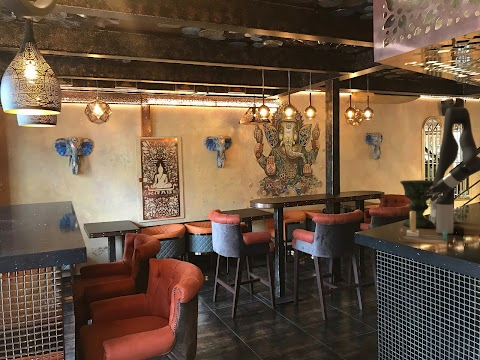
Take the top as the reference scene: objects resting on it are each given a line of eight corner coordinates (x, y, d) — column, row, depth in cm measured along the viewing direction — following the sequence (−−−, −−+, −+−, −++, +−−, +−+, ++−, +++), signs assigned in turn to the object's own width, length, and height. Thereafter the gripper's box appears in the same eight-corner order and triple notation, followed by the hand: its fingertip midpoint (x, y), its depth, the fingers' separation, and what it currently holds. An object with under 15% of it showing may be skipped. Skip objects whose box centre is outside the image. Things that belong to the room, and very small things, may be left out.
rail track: (400, 238, 225) (400, 228, 225) (445, 240, 216) (445, 230, 216) (399, 241, 216) (399, 231, 216) (447, 244, 207) (447, 233, 206)
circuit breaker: (454, 222, 273) (455, 201, 273) (434, 223, 274) (434, 201, 273) (449, 221, 281) (449, 200, 280) (429, 221, 281) (429, 200, 280)
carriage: (406, 233, 222) (406, 210, 222) (418, 234, 220) (418, 210, 219) (406, 235, 216) (406, 212, 215) (418, 236, 213) (418, 212, 213)
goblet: (424, 230, 248) (424, 182, 246) (393, 225, 267) (393, 181, 265) (444, 226, 259) (444, 180, 258) (413, 222, 279) (413, 179, 277)
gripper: (453, 178, 222) (431, 196, 232) (437, 174, 215) (415, 192, 226) (460, 189, 217) (437, 206, 228) (444, 185, 211) (421, 203, 221)
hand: (426, 199), depth 227 cm, fingers open, 8 cm apart
